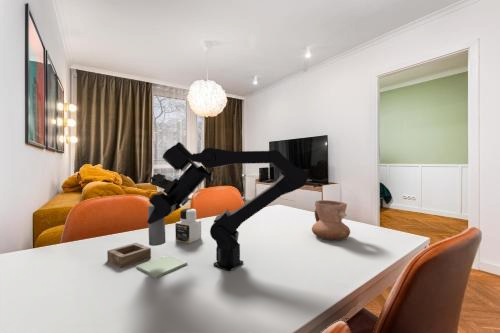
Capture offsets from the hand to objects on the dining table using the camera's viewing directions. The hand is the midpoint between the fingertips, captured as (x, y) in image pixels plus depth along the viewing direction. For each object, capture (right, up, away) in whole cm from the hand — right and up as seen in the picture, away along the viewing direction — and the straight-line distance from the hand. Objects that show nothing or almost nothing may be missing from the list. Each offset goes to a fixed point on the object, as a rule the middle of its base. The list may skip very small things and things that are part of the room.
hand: (151, 220), depth 68 cm
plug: (+2, -7, 0) cm, 7 cm away
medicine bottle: (+5, -13, +23) cm, 27 cm away
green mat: (+3, -13, 0) cm, 13 cm away
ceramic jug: (+61, -13, +26) cm, 67 cm away
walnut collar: (-9, -13, +5) cm, 17 cm away
